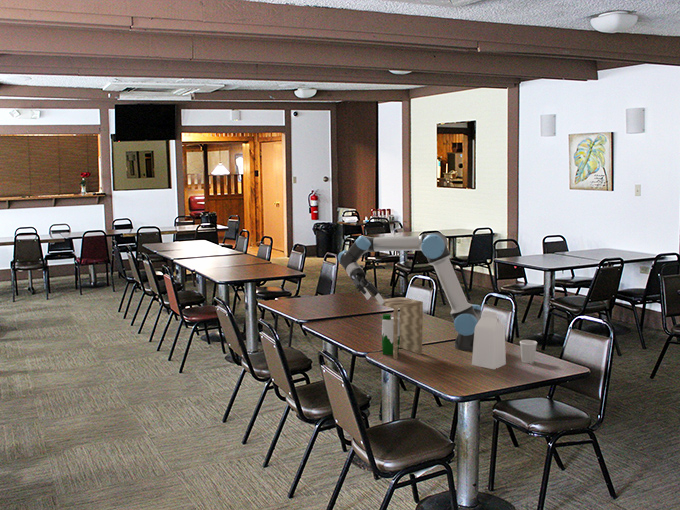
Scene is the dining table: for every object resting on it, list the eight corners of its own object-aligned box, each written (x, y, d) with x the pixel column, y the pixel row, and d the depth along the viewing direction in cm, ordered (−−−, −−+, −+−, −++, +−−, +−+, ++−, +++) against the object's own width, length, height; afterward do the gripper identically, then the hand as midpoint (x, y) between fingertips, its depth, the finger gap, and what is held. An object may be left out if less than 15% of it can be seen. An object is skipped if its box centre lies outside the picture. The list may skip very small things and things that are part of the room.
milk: (471, 364, 337) (473, 312, 334) (483, 359, 346) (485, 308, 343) (494, 369, 330) (495, 315, 326) (505, 364, 338) (507, 311, 335)
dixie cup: (523, 364, 338) (523, 344, 336) (516, 359, 346) (516, 340, 344) (539, 363, 339) (540, 343, 338) (532, 359, 347) (532, 339, 346)
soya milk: (383, 350, 363) (383, 312, 361) (400, 351, 362) (400, 313, 359) (380, 355, 355) (380, 316, 352) (398, 355, 353) (398, 317, 351)
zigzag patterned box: (375, 352, 360) (375, 300, 356) (401, 347, 370) (402, 296, 367) (395, 359, 347) (395, 305, 344) (422, 353, 357) (422, 301, 354)
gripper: (365, 284, 371) (385, 311, 356) (336, 272, 355) (356, 300, 340) (374, 273, 369) (394, 300, 354) (346, 261, 353) (366, 289, 338)
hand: (376, 300), depth 347 cm, fingers open, 10 cm apart
